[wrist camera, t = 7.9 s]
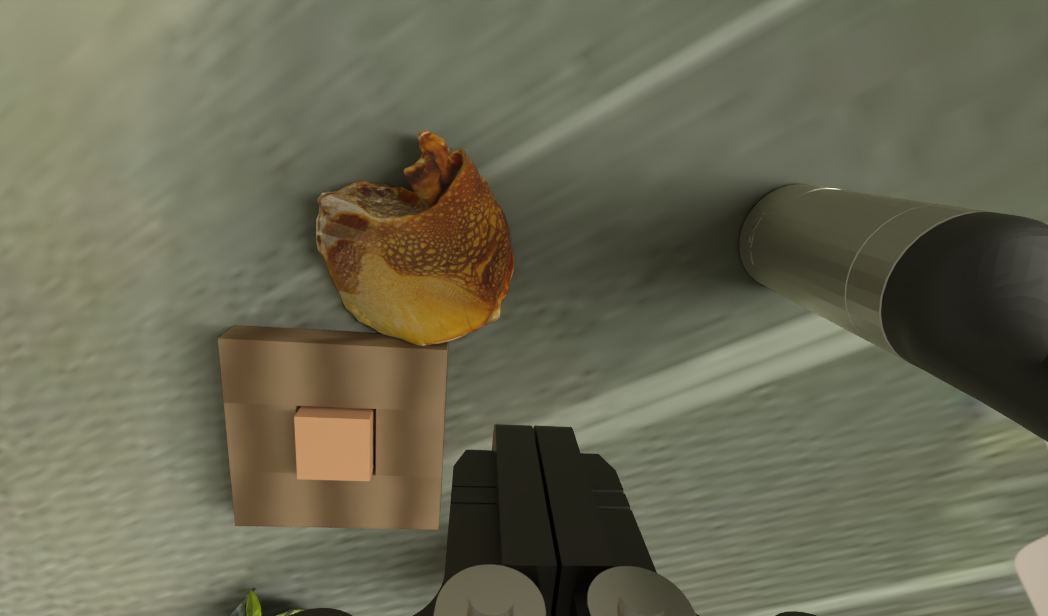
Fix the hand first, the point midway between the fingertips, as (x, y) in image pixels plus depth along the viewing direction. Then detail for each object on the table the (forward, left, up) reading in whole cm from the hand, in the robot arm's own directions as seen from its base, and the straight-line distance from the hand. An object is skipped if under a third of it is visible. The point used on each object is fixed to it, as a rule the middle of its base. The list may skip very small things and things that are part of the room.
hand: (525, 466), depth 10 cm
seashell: (+6, +3, -36) cm, 36 cm away
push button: (+12, +20, -34) cm, 41 cm away
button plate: (+12, +20, -35) cm, 42 cm away
